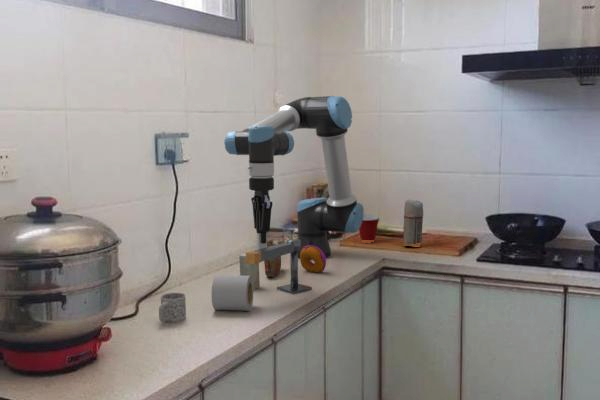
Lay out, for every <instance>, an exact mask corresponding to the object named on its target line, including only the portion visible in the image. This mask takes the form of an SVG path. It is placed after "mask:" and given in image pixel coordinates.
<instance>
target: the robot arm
mask: <svg viewBox="0 0 600 400" xmlns="http://www.w3.org/2000/svg"><path fill="white" fill-rule="evenodd" d="M352 112H353V111H352V109H351V104H350V103H349V101H348V100H347V99H346V98H345V97H343V96H334V95H329V96H305V97H302V98H298V99H295V100H293V101H291V102H288V103H286V104H284V105H283V106H281V107H280V108H278V110H277V112H276V113H273V114H271V115H269V116H268V117H266V118H264V119H262V120H260V121H258V122H257V123H254V124H253V125H251V126H249V127H247V128H244V130H241V131H240V130H239V131H237V130H235V131H229V132H227V134H225V137H224V148H225V151H226V152H227V153H228V154H230V155H236V156H248V166H247V170H248V175H249V176H250V177H249V178H248V189H249V190H251V191H254V194H253V197H251V199H250V200H251V204H252V214H253V224H254V225H253V227H254V229H255V230H256V250H259V249H263V248H266V247H268V232H271V230H270V229H271V217H272V207H273V201H270V200H271V197H270V195H269V191H272V190H274V189H275V179H274V177H273V176H275V159H274V157H276V156H285V155H288V154H290V153H291V152H292V151H293V150H294V148H295V147H294V146H295V139H294V136H293V135H292V134H290V132H293V131H295V130H298V129H309V130H312V129H313V130H315V134H316V136H317V137H318V138H319V139H321V146H322V153H323V158H324V166H325V174H326V181H327V187H328V194H329V197H315V198H307V199H303V200H300V201H298V203H297V212H296V213H297V238H296V239H299V240H301V249H302V248H303V247H304V246H308V245H313V246H316V247H318V248H319V249H321V250H322V251H323V253H324V254H325V256H326V259H327V258H330V257H331V256H332V249H331V246H330V242H329V239H328V237H327V236H328V235H327V234H328V232H333V233H345V234H351V233H352V234H355V233H357V232H359V228H360V226H361V224H362V221H363V215H364V213H365V211H364V206H363V204H362V203H359V202H358V201H357V196H356V195H355V194H353V193H352V185H351V179H350V170H349V161H348V154H347V148H346V147H347V146H346V139H345V135H346V134H347V133H348V132H349V131H348V130H349V128H350V127H351V125H352V122H353V120H352V118H353V113H352ZM300 253H301V250H300V251H298V259H300ZM310 260H312V259H311V258H310Z"/></svg>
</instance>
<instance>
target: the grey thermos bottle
mask: <svg viewBox="0 0 600 400" xmlns="http://www.w3.org/2000/svg"><path fill="white" fill-rule="evenodd" d="M423 206H424V204H423V202H422V201H420V200H415V199H414V200H413V199H406V200H405V202H404V210H403V212H404V213H403V232H402V233H403V235H402V236H403V237H402V243H403V242H404V243H407V244H416V243H421V242H422V241H423V221H424V207H423Z"/></svg>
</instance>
